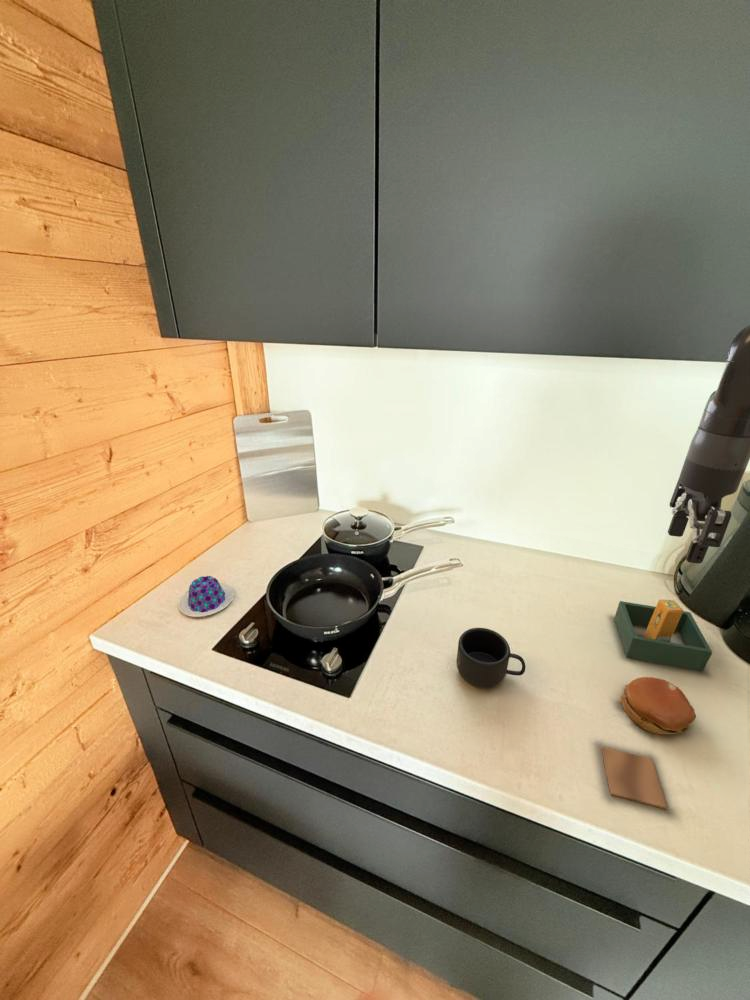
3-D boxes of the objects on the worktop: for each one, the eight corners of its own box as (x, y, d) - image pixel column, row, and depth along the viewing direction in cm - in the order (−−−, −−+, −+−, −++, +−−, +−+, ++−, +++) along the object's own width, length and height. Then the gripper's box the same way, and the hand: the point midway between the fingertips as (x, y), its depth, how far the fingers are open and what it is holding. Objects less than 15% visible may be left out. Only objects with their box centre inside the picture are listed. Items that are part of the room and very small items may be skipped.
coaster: (651, 760, 64) (652, 758, 64) (666, 809, 58) (667, 808, 58) (601, 748, 66) (601, 746, 65) (610, 794, 60) (611, 793, 59)
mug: (451, 685, 76) (454, 657, 73) (459, 649, 84) (462, 622, 80) (521, 704, 73) (527, 675, 69) (522, 665, 80) (528, 637, 77)
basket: (682, 630, 88) (690, 612, 86) (703, 672, 79) (712, 652, 76) (613, 619, 91) (619, 600, 89) (625, 657, 82) (632, 638, 79)
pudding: (205, 580, 104) (200, 562, 102) (245, 591, 100) (242, 573, 98) (167, 611, 94) (161, 592, 92) (210, 625, 90) (205, 606, 88)
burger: (616, 717, 70) (624, 698, 68) (625, 680, 77) (632, 662, 75) (687, 752, 65) (698, 732, 63) (690, 709, 72) (700, 690, 70)
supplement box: (668, 649, 83) (685, 610, 79) (651, 649, 83) (666, 610, 79) (659, 637, 86) (674, 598, 82) (642, 637, 86) (656, 598, 82)
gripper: (770, 479, 58) (727, 575, 65) (723, 445, 70) (692, 529, 77) (707, 474, 60) (672, 568, 67) (672, 442, 72) (646, 525, 79)
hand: (683, 547), depth 72 cm, fingers open, 8 cm apart
